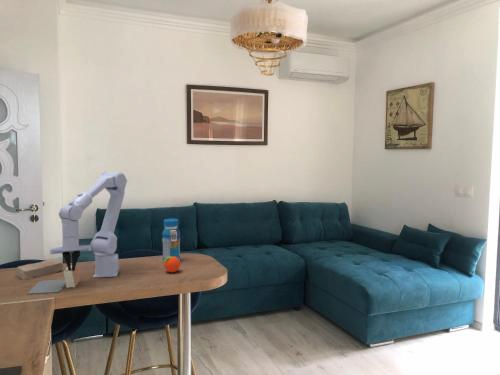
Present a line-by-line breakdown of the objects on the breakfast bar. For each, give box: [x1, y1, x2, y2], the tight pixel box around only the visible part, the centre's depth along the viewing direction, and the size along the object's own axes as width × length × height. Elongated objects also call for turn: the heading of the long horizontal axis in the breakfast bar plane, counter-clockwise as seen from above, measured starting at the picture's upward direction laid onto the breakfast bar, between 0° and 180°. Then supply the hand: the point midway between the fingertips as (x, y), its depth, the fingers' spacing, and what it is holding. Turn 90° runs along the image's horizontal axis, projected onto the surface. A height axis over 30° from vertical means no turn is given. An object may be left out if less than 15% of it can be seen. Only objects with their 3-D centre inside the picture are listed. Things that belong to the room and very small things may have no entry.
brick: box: [15, 258, 64, 280], centre depth 179 cm, size 17×8×5 cm, turn 141°
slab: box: [63, 264, 80, 289], centre depth 165 cm, size 3×8×7 cm, turn 11°
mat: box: [27, 279, 66, 295], centre depth 162 cm, size 11×15×1 cm
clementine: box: [162, 256, 181, 273], centre depth 182 cm, size 8×7×7 cm
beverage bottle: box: [161, 218, 181, 262], centre depth 200 cm, size 8×8×20 cm
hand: (71, 270), depth 163 cm, fingers closed, pressing on slab
